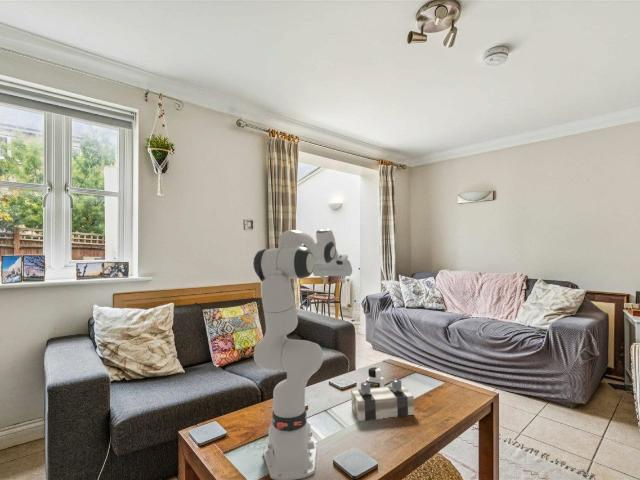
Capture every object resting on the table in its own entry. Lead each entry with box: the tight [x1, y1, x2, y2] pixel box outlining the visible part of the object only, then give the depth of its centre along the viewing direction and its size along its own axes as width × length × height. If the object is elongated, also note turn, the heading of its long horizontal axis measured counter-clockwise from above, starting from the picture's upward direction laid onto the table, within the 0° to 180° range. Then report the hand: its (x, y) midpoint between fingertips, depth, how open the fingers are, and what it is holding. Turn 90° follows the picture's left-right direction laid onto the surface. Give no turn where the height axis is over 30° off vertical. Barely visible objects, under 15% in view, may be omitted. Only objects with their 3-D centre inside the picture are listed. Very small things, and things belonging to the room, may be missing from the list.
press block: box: [350, 384, 415, 422], centre depth 148 cm, size 12×24×8 cm, turn 98°
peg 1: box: [360, 381, 371, 397], centre depth 147 cm, size 4×4×7 cm
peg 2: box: [391, 378, 402, 394], centre depth 149 cm, size 4×4×7 cm
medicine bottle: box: [365, 367, 385, 388], centre depth 167 cm, size 7×7×12 cm
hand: (334, 282), depth 174 cm, fingers open, 8 cm apart
